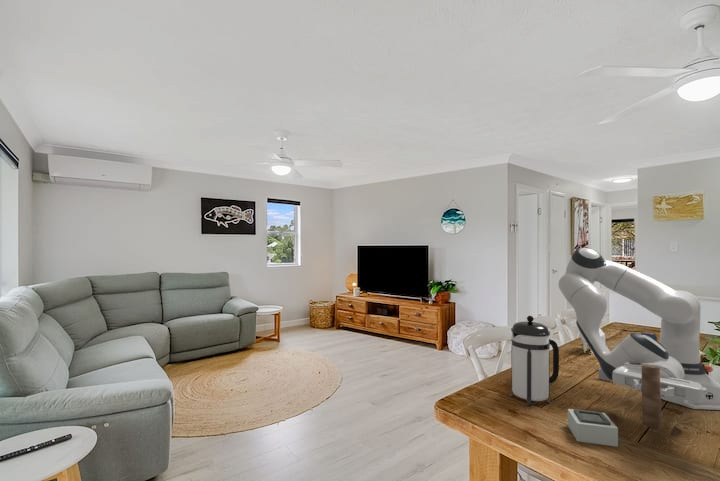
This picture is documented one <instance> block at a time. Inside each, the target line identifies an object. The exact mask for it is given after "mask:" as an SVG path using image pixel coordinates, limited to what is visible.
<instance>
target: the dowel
mask: <svg viewBox="0 0 720 481" xmlns="http://www.w3.org/2000/svg"><path fill="white" fill-rule="evenodd" d="M641 369H642V392H641V408H642V410H641V412H642V415H641V416H642V417H641V418H642V425H643V426H645V427H646V428H649V429H653V430H654V429H655V430H660V429H662V398H661V396H660V367H658V366H655V365H651V364H642V365H641Z"/></svg>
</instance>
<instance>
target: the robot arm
mask: <svg viewBox="0 0 720 481" xmlns="http://www.w3.org/2000/svg"><path fill="white" fill-rule="evenodd" d="M595 282H598V283H599V284H601V285H602V286H604V287H605V288H606V289H607V288H608V289H609V290H611V291H613V292H614V293H617V294H619V295H621V296H622V297H625V298H627V299H629V300H630V301H633V302H634V303H636V304H638V305H640V306H641V307H642V308H644V309H646V310H648V311H649V312H651V313H652V314H654V315H655V316H657V317H660V318H661V323H660V333H659V341H658V340H657V341H656V340H655V339H653V338H652V337H650V336H648V335H646V334H641V332H631V333H629V334H628V335H627V336H626V337H625V338H624V339H622V341H620V342H619V343H618V344H617V345H616V346H615V347H614V348H613V349H612V350H610V349H609V348H608V345H606V342H605V343H604V341H603V340H602V338H601V337H600V334H599V328H601V327H600V326H601V323H602V321H603V319H604V317H605V314H606V312H607V308H608V301H607V298H606V296H605V295H604V293H603V292H602V291H601V290H600V289H599V288H598V287H597V286H596V285H594V283H595ZM558 288H559V290H560V292H561V293H562V295H563V297H564V298H565V299H566V300H567V302H568V304H570V305H571V307H572V308H573V310H574V312H575V316H576V326H577V329H578V331H579V330H580V332H581V334H582V335H583V337H584V339H585V340H586V342H587V343H588V345H587V346H588V347H589V348H591V350H592V351H593V356H595V358H596V360H597V362H598V364H599V368H601V369H602V371H603V372H604V374H605V375H606V376H607V377H608V378H609V379H610V380H611V381H612V383H614V384H615V385H619V386H623V387H628V388H632V389H634V390H635V391H636V392H641V393H642V369H641V365H642V364H651V365H655V366H658V367H660V396H661V400H664V401H667V402H670V403H673V404H677V405H681V406H684V407H687V408H690V409H694V410H709V411H710V410H711V411H713V410H715V411H720V382H718V381H717V380H715V379H714V378H713V377H711V376H710V375H709V374H707V373H712V372H714V367H713V366H711V365H708V364H704V363H703V362H700V336H701V334H700V333H701V311H702V310H701V302H700V300H699V299H698V298H697V296H695V295H694V294H693V293H691V292H689V291H686V290H676V289H674V288H672V287H670V286H668V285H666V284H664V283H662V282H660V281H658V280H657V279H654V278H653V277H651V276H649V275H647V274H645V273H642V272H639V271H638V270H635V269H634V268H631V267H629V266H626V265H624V264H621V263H619V262H615V261H612V260H608V259H605V258H604V257H603V256H602V254H601V253H600V252H598V251H597V250H596V249H593V248H590V247H579V248H576V249H575V251H574V252H573V253H572V255H571V258H570V260H569V262H568V264H567V266H566V268H565V274H563V275H562V276H561V277H560V279H559V280H558ZM580 332H579V333H580ZM706 371H707V372H706Z"/></svg>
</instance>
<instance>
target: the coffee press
mask: <svg viewBox="0 0 720 481" xmlns="http://www.w3.org/2000/svg"><path fill="white" fill-rule="evenodd" d="M526 320H527V321H518V322H515V323H514V324H513V326H512V327H511V328H510V330H511V331H510V332H511V349H510V350H511V353H510V354H511V376H510V377H511V378H510V379H511V380H510V381H511V383H510V384H511V386H510V387H511V388H510V389H509V391H507V395H508V397H509V398H511V397H513V396H514V395H515V396H516V397H517V398H520V399H522V400H526V407H530V408H532V401H533V402H542V401H546V402H548V403H549V405H550V404H551V405H552V404H554V398H553V397H552V396H551V393H550V392H551V390H550V384H552V383H555V381H557V379H558V377H559V371H560V354H559V352H560V351H559V346H558V344H557V342H556V341H555V340H553V339H550V336H551V331H550V330H549V329H548V327H547V326H546V325H545V324H543V323H540V322H535V321H534V320H535V319H534V317H533V316H532V315H528V316H527V317H526ZM550 346H551V347H552V375H551V374H550V370H551V369H550V364H551V363H550V362H551V360H550V358H551V357H550V354H551V353H550V350H551V349H550ZM550 375H551V376H550ZM511 391H512V392H513V393H512V394H510V392H511ZM548 398H550V399H551V401H550V400H549V399H548Z"/></svg>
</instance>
